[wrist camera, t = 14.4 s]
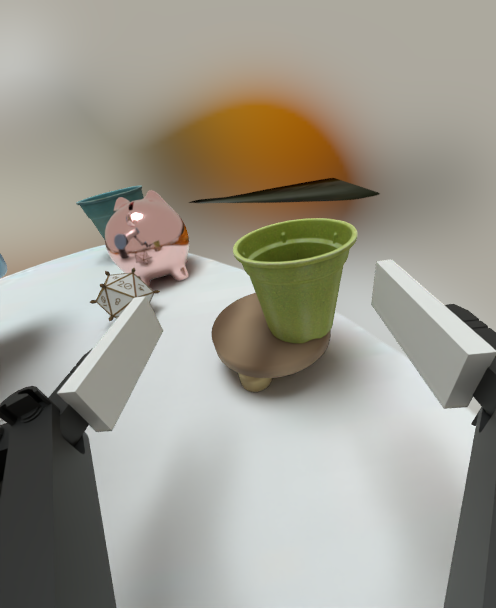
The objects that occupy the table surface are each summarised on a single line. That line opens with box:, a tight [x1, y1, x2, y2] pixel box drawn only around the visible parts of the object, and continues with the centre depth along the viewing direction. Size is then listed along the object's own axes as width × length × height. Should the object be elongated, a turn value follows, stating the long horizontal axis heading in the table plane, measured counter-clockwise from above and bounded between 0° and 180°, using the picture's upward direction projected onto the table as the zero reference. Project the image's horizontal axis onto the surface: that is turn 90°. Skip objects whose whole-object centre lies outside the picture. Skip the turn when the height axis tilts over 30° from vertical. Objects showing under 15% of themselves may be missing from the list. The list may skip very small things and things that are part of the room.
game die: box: [90, 268, 160, 321], centre depth 37 cm, size 9×8×10 cm
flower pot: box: [76, 186, 144, 240], centre depth 66 cm, size 16×16×16 cm
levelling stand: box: [212, 293, 330, 392], centre depth 26 cm, size 12×12×4 cm
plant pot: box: [233, 218, 357, 343], centre depth 21 cm, size 9×9×9 cm
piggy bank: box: [105, 190, 189, 287], centre depth 48 cm, size 15×18×16 cm
